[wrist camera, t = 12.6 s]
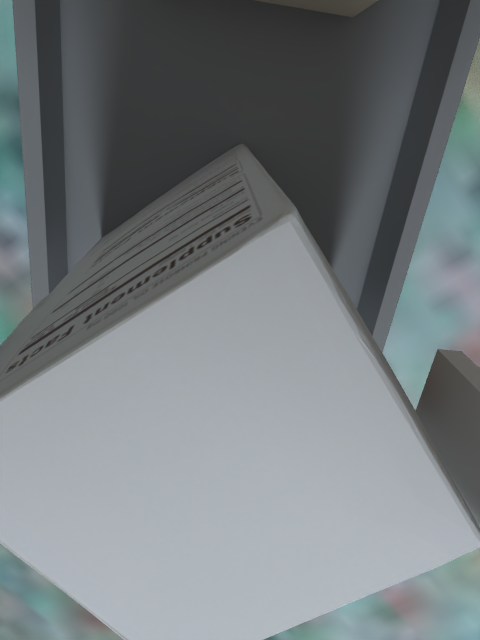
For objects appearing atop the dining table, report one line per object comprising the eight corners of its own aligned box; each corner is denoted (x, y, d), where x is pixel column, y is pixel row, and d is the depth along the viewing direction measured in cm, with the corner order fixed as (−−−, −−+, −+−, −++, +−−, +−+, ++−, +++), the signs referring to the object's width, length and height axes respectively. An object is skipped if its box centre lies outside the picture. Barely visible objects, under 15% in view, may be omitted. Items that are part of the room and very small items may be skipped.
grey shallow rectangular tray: (62, 363, 28) (38, 401, 24) (36, -304, 16) (-16, -424, 12) (341, 388, 30) (359, 427, 26) (502, -196, 18) (575, -273, 14)
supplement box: (332, 287, 25) (505, 556, 10) (198, 366, 27) (174, 694, 12) (242, 134, 22) (300, 192, 6) (94, 236, 23) (-134, 471, 8)
